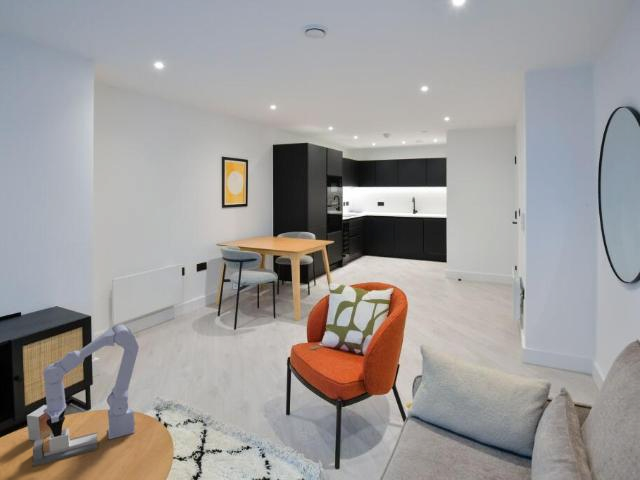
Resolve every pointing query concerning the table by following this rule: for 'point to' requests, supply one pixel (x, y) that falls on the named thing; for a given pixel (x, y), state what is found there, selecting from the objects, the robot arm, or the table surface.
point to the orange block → (46, 446)
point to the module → (59, 440)
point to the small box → (38, 424)
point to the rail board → (74, 448)
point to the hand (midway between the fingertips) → (58, 430)
